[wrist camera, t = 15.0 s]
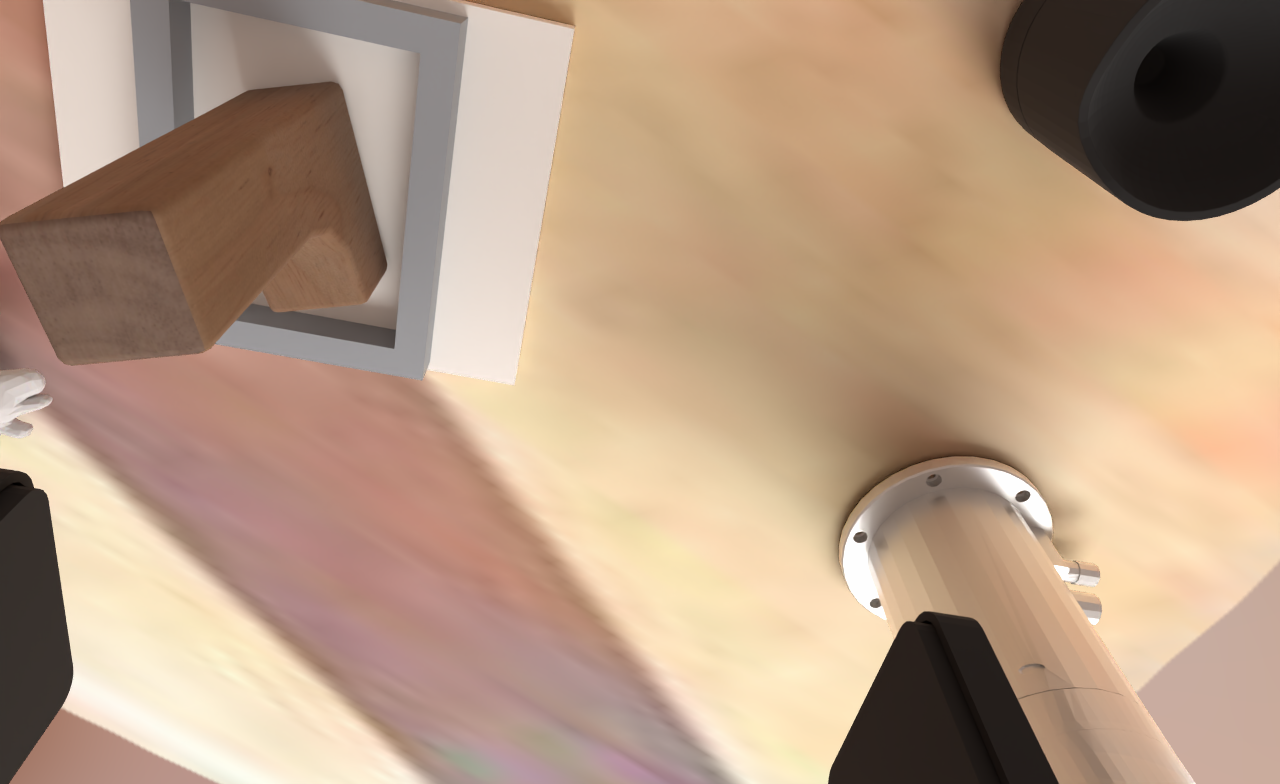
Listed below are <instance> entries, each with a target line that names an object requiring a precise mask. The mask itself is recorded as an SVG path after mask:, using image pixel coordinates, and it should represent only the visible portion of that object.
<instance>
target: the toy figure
mask: <svg viewBox="0 0 1280 784" xmlns="http://www.w3.org/2000/svg"><path fill="white" fill-rule="evenodd" d="M45 383H46V381H45V378H44V376H43V375H42V374H41V373H39V372H38V371H37V370H35V369H29V368H26V369H14V370H0V435H1V434H3V435H7V436H10V437H14V438H22V437H25V436H28V435H30V434H31V432H32V430H33V426H32V424H29V423H26V422H22V421H20V420H18V419H17V418H16V417H18V416H19V415H22V414H25V413H29V412H32V411H35V410H39V409H42V408H44V407H45V406H47V405H49V404H50V403H51V402H52V399H53V398H52V397H51V396H50V395H48V394H38V393H40V392H42V390H43V389H44V387H45Z"/></svg>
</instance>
